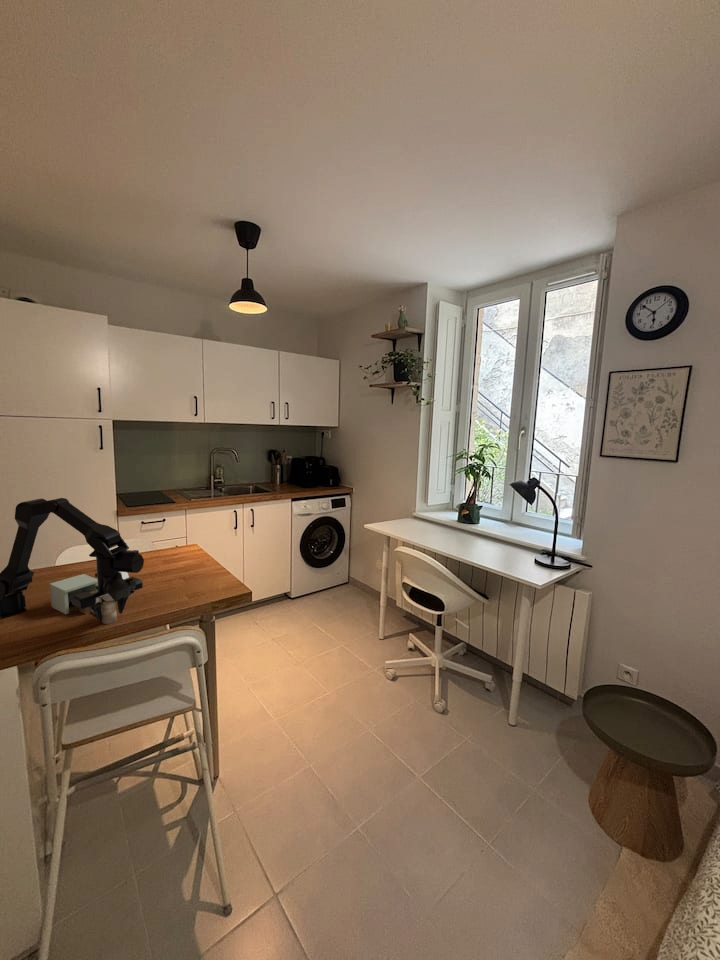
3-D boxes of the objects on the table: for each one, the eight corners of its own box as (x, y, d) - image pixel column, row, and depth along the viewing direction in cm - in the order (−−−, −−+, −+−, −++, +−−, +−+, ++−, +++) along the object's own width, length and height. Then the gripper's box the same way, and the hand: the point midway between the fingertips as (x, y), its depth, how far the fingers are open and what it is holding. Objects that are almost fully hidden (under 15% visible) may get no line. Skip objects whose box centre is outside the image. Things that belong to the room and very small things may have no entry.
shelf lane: (66, 614, 129) (64, 590, 128) (51, 607, 134) (49, 583, 133) (100, 602, 138) (99, 580, 137) (85, 595, 143) (83, 573, 142)
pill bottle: (105, 589, 148) (96, 606, 135) (104, 569, 147) (96, 584, 134) (129, 587, 152) (123, 603, 138) (129, 567, 151) (123, 581, 137)
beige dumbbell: (104, 625, 123) (103, 607, 122) (78, 610, 132) (77, 593, 131) (121, 619, 127) (120, 602, 126) (94, 604, 136) (93, 588, 136)
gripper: (89, 586, 111) (92, 637, 114) (152, 566, 127) (154, 612, 130) (69, 577, 117) (72, 627, 119) (131, 559, 133) (133, 603, 135)
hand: (110, 617), depth 126 cm, fingers open, 6 cm apart
